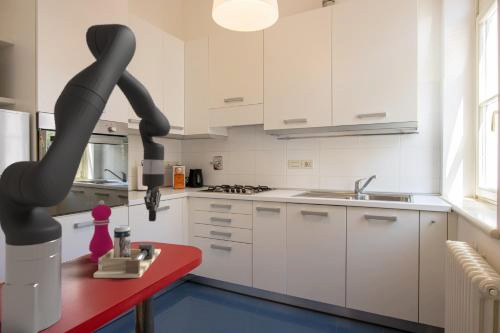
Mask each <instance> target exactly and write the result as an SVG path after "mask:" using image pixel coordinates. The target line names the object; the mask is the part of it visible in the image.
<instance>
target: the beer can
mask: <svg viewBox="0 0 500 333" xmlns="http://www.w3.org/2000/svg"><path fill="white" fill-rule="evenodd" d="M113 249H114V258H130V249H131V227H130V225H127V224H121V225H116V226H115V228H114V229H113Z"/></svg>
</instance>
